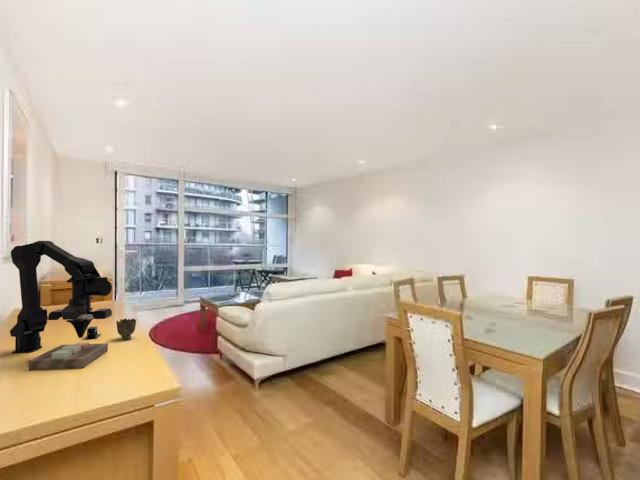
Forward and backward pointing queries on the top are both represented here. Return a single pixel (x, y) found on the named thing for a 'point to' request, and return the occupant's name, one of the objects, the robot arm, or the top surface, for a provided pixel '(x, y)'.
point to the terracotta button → (84, 344)
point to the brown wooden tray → (73, 361)
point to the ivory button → (73, 347)
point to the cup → (126, 328)
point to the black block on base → (91, 333)
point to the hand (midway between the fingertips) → (80, 337)
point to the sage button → (61, 354)
